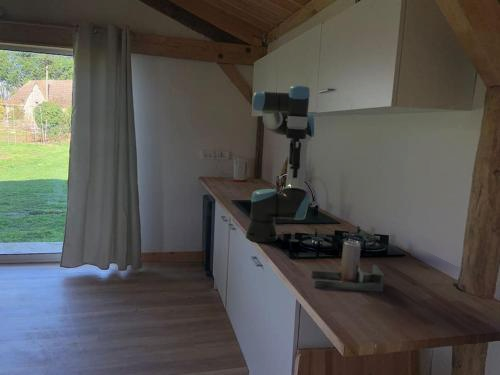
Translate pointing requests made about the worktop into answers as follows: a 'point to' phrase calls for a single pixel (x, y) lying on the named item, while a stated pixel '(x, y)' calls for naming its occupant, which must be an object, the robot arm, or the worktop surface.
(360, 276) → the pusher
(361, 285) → the lane
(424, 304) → the worktop surface
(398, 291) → the worktop surface
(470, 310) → the worktop surface
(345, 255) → the beverage can
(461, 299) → the worktop surface
